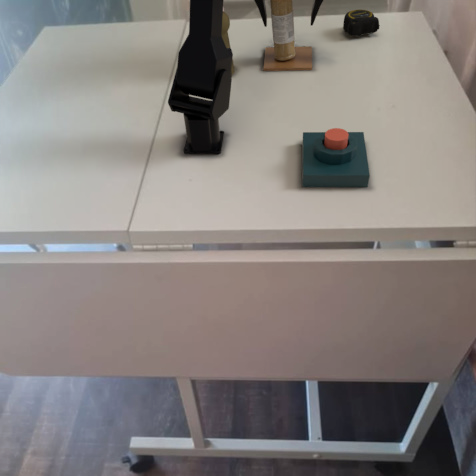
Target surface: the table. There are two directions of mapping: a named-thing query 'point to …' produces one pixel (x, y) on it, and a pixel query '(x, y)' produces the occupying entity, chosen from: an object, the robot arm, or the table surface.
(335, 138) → the red button cap
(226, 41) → the pepper shaker
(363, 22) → the tape measure
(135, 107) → the table surface
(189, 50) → the robot arm
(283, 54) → the sprinkles bottle
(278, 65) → the coaster
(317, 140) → the teal push button base
